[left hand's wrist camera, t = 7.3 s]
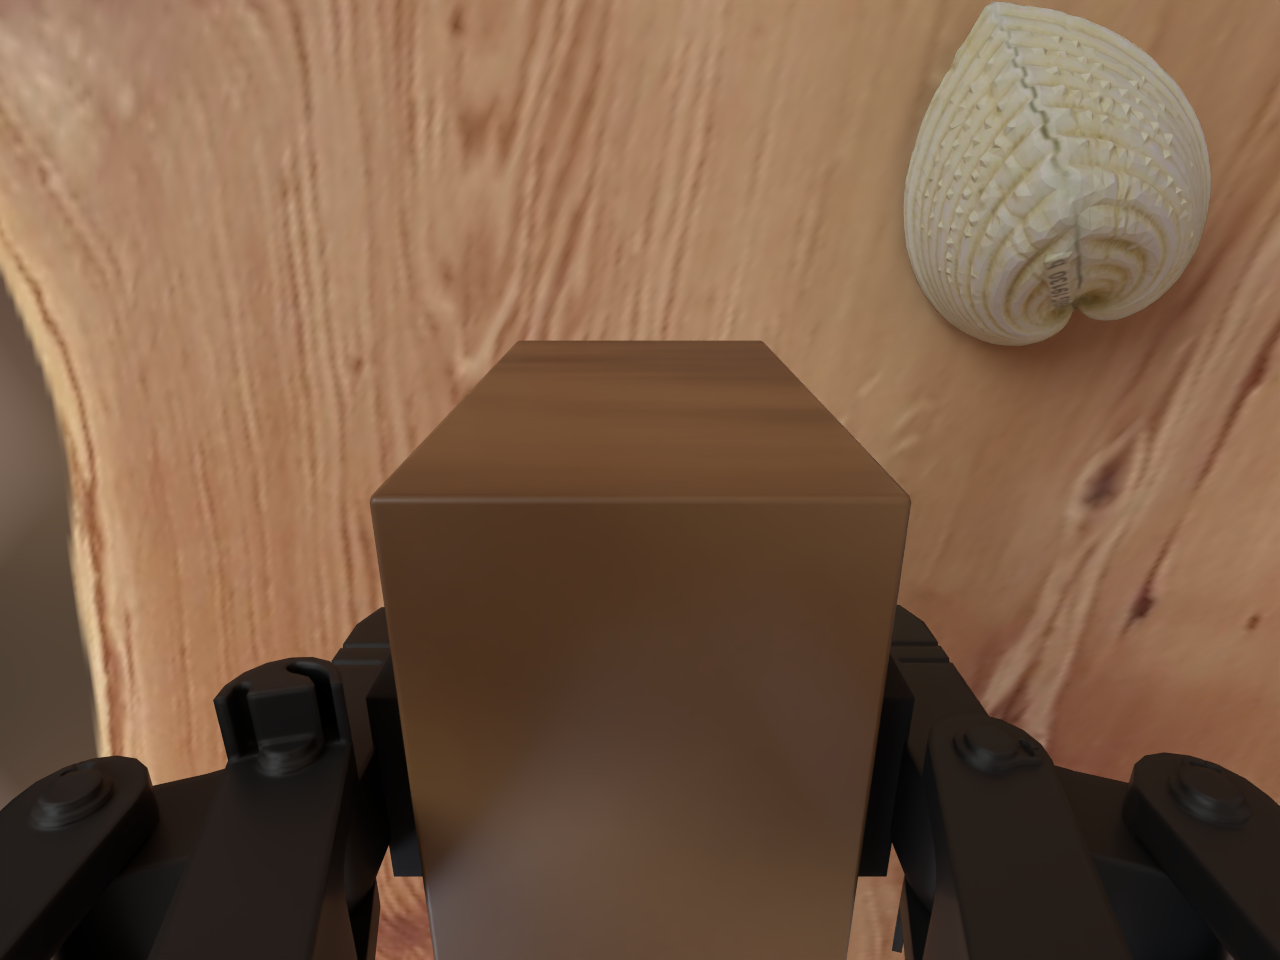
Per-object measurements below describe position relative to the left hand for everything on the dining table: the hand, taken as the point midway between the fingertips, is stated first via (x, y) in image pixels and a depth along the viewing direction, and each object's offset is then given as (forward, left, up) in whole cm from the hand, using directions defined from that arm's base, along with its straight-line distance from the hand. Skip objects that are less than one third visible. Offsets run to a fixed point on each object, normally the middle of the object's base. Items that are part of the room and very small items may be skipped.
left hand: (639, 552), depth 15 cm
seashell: (-12, -7, -12) cm, 19 cm away
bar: (0, +9, -1) cm, 9 cm away
